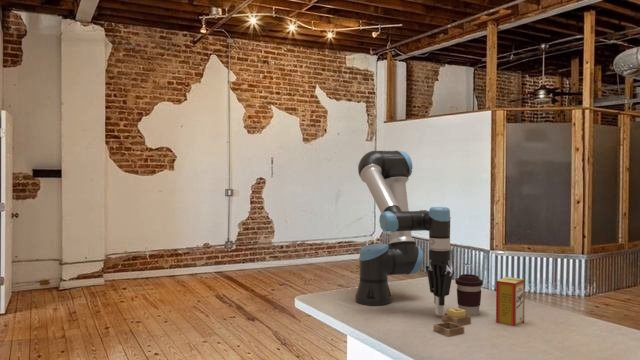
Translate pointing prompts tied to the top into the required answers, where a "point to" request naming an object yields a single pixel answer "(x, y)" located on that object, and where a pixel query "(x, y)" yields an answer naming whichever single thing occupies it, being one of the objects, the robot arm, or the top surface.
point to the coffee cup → (469, 293)
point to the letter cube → (456, 313)
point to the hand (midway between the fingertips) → (439, 313)
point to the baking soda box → (510, 301)
